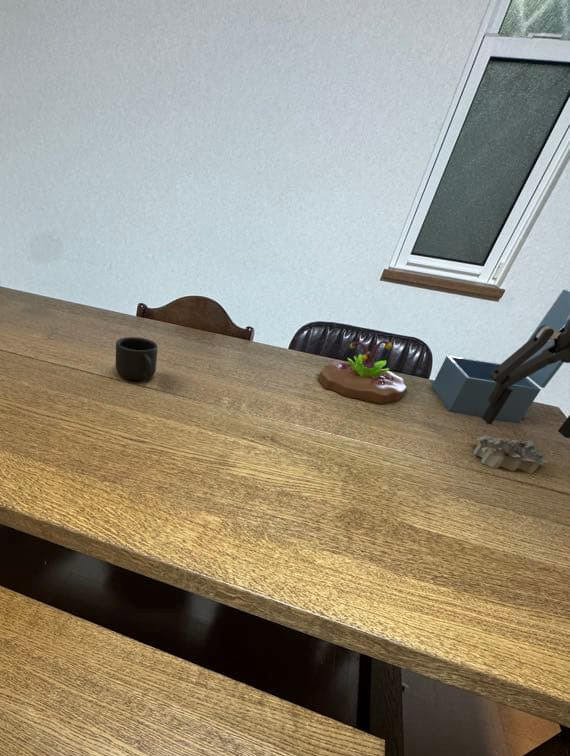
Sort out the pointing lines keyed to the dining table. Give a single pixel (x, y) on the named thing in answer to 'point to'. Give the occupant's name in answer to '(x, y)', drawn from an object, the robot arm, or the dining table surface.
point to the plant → (364, 378)
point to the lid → (555, 320)
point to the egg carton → (509, 453)
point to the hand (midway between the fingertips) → (524, 428)
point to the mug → (136, 358)
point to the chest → (479, 389)
